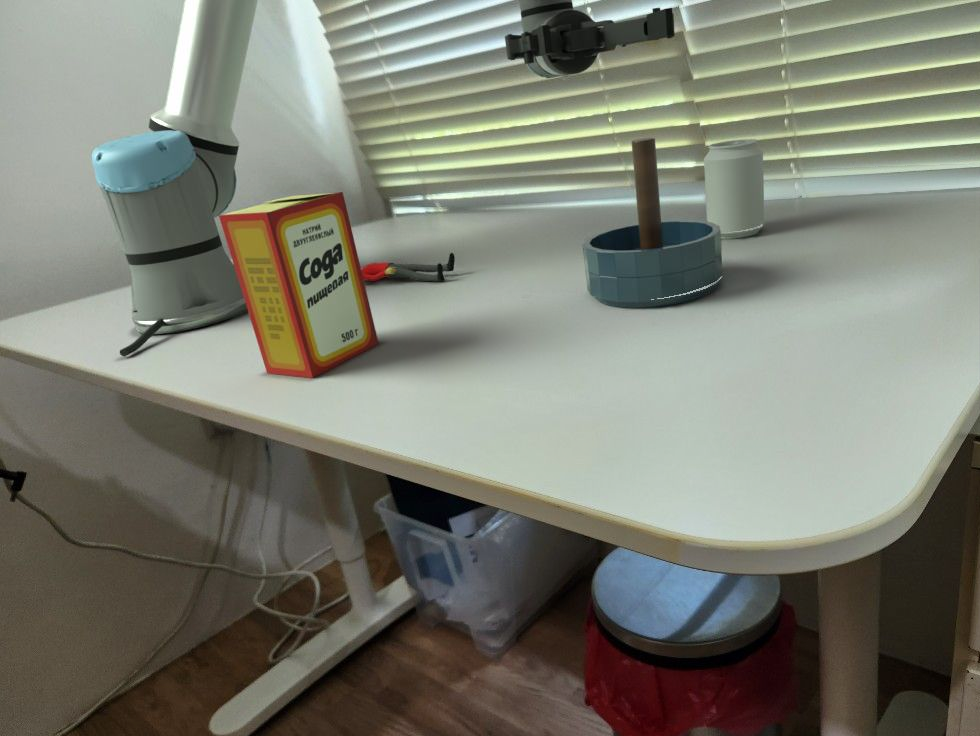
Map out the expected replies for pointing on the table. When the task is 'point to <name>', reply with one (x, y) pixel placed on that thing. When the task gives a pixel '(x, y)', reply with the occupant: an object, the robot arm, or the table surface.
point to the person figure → (407, 270)
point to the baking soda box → (301, 282)
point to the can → (735, 187)
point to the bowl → (653, 264)
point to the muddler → (647, 193)
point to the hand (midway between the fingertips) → (609, 30)
